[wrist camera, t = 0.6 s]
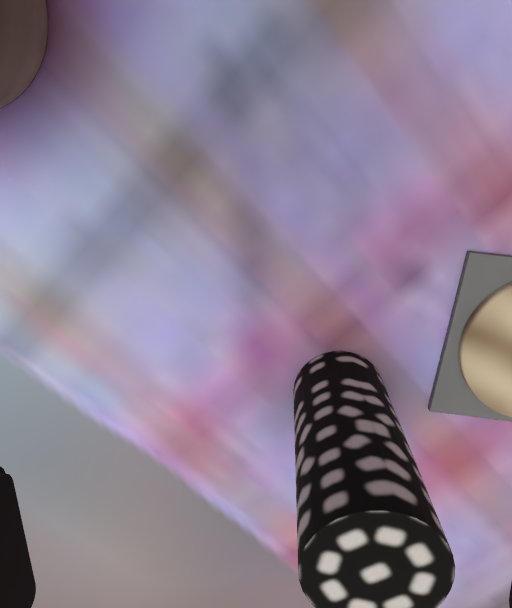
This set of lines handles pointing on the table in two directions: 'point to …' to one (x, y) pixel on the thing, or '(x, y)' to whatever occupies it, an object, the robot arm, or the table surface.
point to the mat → (471, 292)
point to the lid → (489, 351)
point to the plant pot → (20, 45)
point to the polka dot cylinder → (361, 495)
